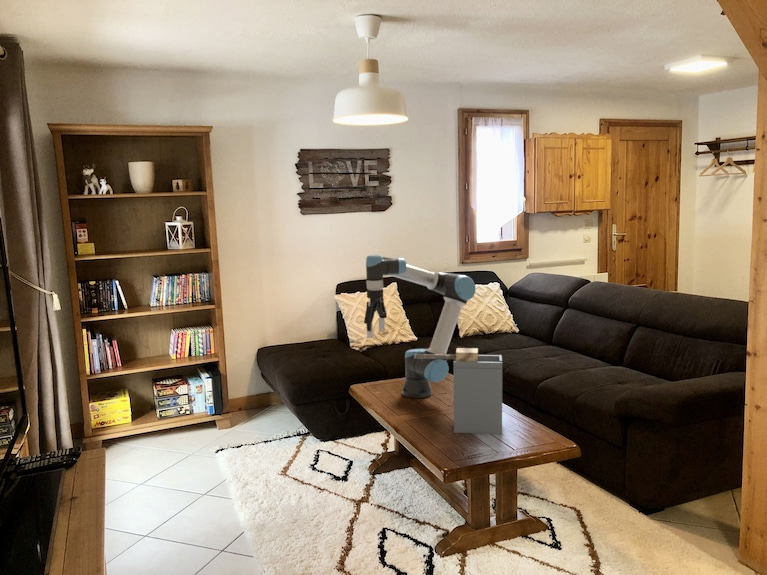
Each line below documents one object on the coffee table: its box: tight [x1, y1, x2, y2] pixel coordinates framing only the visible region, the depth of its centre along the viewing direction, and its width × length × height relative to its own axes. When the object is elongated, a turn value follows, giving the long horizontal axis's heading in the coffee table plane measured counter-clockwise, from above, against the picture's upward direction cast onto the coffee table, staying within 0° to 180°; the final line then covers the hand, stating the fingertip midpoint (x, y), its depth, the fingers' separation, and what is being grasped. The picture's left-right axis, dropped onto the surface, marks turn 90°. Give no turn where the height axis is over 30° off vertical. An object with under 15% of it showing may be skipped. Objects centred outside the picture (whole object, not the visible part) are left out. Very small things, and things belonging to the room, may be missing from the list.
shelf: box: [453, 353, 503, 435], centre depth 264 cm, size 20×14×31 cm
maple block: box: [414, 347, 479, 362], centre depth 264 cm, size 27×8×6 cm, turn 81°
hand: (376, 334), depth 284 cm, fingers open, 13 cm apart
